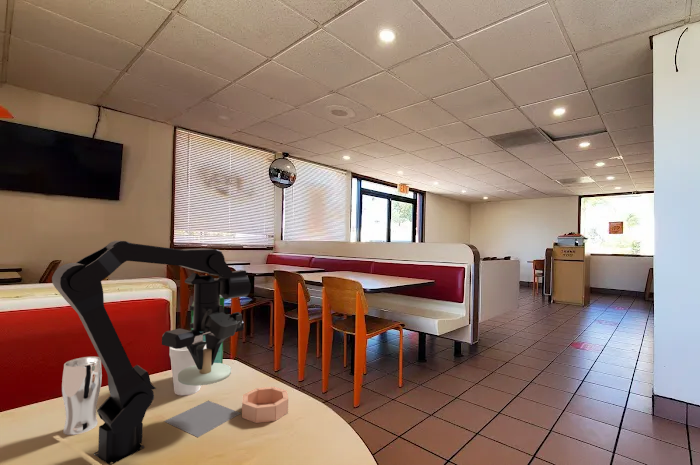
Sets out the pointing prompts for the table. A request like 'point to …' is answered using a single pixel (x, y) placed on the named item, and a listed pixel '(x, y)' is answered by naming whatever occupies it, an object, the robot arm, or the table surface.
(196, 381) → the lid
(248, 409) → the bowl
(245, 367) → the table surface
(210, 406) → the mat
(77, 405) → the beer glass
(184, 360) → the foam cup
